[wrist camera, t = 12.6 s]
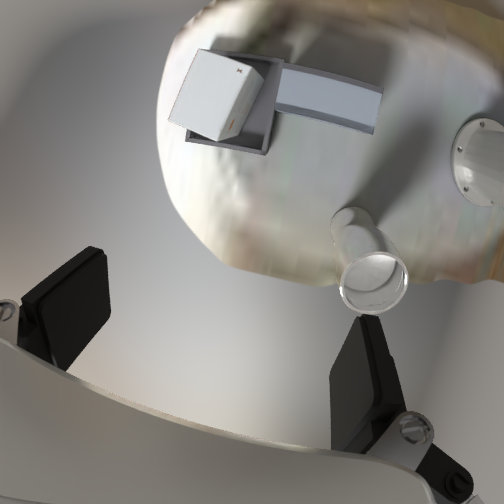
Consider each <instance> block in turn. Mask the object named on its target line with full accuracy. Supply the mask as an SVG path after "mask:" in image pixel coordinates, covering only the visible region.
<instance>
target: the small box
mask: <svg viewBox="0 0 504 504" xmlns="http://www.w3.org/2000/svg"><path fill="white" fill-rule="evenodd" d="M264 81H265V80H264V78H263V77H262V76H261V75H260V74H259V73H258V72H257V71H256V70H255V69H254V68H253V67H252V66H249V65H246V64H244V63H241V62H239V61H236V60H233V59H230V58H227V57H224V56H221V55H218V54H215V53H212V52H209V51H206V50H203V49H198V51H197V53H196V55H195V58H194V60H193V62H192V64H191V66H190V68H189V71H188V73H187V75H186V77H185V80H184V82H183V84H182V87H181V89H180V91H179V94H178V96H177V99H176V101H175V103H174V106H173V108H172V111H171V113H170V116H169V118H168V121H170V122H172V123H175V124H177V125H179V126H182V127H184V128H187V129H189V130H191V131H194V132H196V133H198V134H200V135H203V136H205V137H207V138H210V139H212V140H214V141H220V140H224V139H227V138H230V137H234V136H237V135H239V133H240V131H241V129H242V127H243V124H244V122H245V120H246V118H247V116H248V114H249V112H250V110H251V107H252V105H253V103H254V101H255V99H256V97H257V95H258V93H259V91H260V89H261V87H262V85H263V83H264Z"/></svg>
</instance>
